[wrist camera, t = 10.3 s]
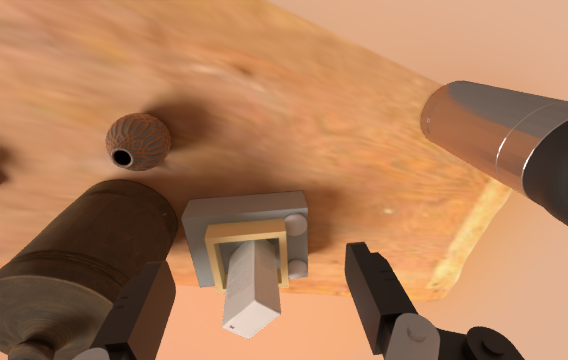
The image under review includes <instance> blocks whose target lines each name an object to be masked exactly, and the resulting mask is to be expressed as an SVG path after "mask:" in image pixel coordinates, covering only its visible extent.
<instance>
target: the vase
mask: <svg viewBox="0 0 568 360" xmlns="http://www.w3.org/2000/svg"><path fill="white" fill-rule="evenodd" d="M170 147H171V137H170V133H169V131H168V129H167V127H166V126H165V125H164V124H163V123H162V122H161V121H160V120H159V119H157V118H156V117H154V116H151V115H148V114H143V113H134V114H129V115H126V116H124V117H122V118H120V119H118V120H117V121H116V122H115V123H114V124H113V125H112V126H111V127H110V129H109V131H108V133H107V136H106V148H107V151H108V154H109V156H110V158H111V160H112V162H113V163H114V164H115V165H117V166H118V167H121V168H125V169H128V170H132V171H145V170H149V169H152V168H154V167H156V166H158V165H159V164H160V163H161V162H163V160H164V159H165V158H166V157H167V155H168V153H169V151H170Z"/></svg>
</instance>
